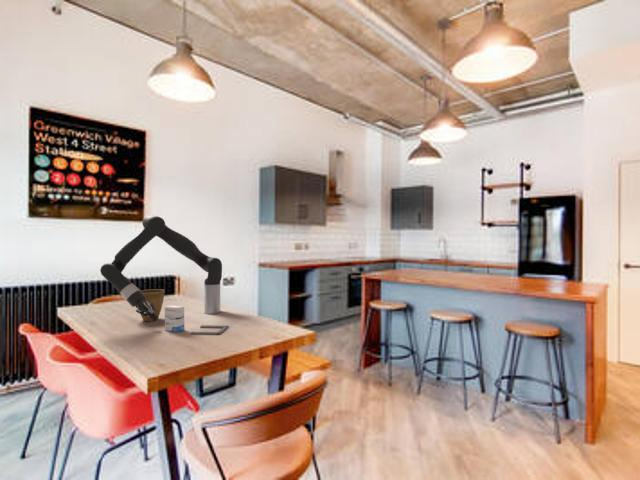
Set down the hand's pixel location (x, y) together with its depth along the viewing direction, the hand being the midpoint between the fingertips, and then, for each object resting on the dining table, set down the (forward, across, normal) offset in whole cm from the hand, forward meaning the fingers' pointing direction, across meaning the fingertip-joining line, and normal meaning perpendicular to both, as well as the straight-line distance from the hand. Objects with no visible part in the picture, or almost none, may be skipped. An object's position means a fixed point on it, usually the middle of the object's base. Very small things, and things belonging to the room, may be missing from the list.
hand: (156, 319), depth 179 cm
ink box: (+10, 0, -3) cm, 10 cm away
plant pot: (-6, +20, +14) cm, 25 cm away
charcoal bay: (+22, 0, -16) cm, 27 cm away
